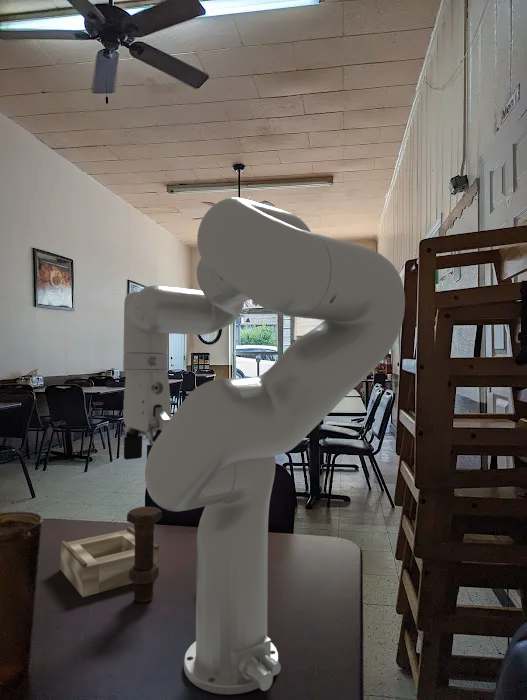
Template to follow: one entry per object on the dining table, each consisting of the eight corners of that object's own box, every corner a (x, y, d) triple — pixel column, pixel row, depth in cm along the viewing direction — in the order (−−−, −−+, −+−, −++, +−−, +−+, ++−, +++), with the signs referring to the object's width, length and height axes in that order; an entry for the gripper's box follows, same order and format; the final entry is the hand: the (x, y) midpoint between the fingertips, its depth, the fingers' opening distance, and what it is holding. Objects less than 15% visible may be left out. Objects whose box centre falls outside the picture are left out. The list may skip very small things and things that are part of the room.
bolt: (150, 609, 80) (151, 516, 80) (121, 606, 81) (122, 514, 81) (164, 593, 85) (165, 506, 86) (137, 590, 86) (138, 504, 87)
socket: (158, 575, 92) (158, 546, 92) (82, 597, 84) (83, 564, 84) (129, 552, 103) (129, 526, 103) (60, 569, 95) (60, 540, 95)
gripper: (189, 365, 80) (187, 470, 79) (145, 363, 93) (143, 453, 93) (146, 364, 75) (144, 476, 75) (106, 363, 89) (104, 457, 88)
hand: (144, 463), depth 84 cm, fingers open, 9 cm apart
